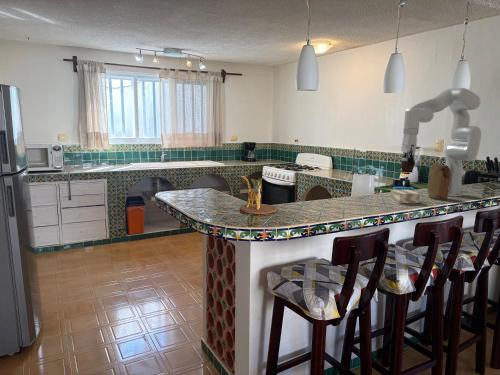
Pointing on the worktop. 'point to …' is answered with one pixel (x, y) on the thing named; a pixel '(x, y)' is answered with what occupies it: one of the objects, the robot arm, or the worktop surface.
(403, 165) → the mate gourd
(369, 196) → the worktop surface
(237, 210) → the worktop surface
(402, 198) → the maple block
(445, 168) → the block
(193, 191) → the worktop surface
